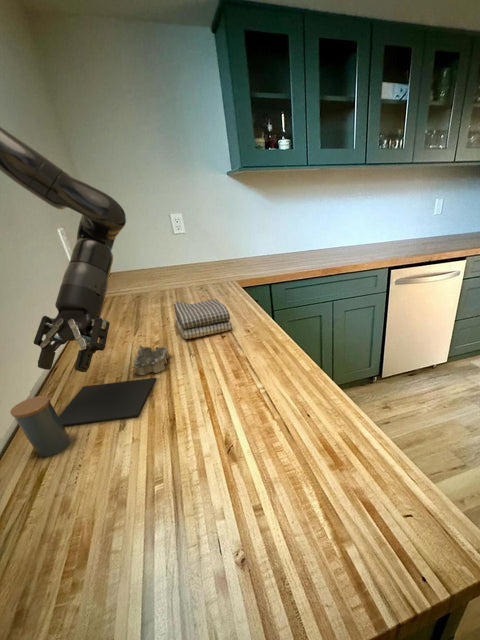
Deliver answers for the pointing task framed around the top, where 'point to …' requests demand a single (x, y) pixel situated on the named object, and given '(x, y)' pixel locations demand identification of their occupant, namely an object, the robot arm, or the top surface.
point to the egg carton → (150, 360)
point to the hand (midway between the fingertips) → (62, 370)
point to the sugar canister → (41, 425)
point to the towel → (201, 318)
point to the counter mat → (107, 402)
